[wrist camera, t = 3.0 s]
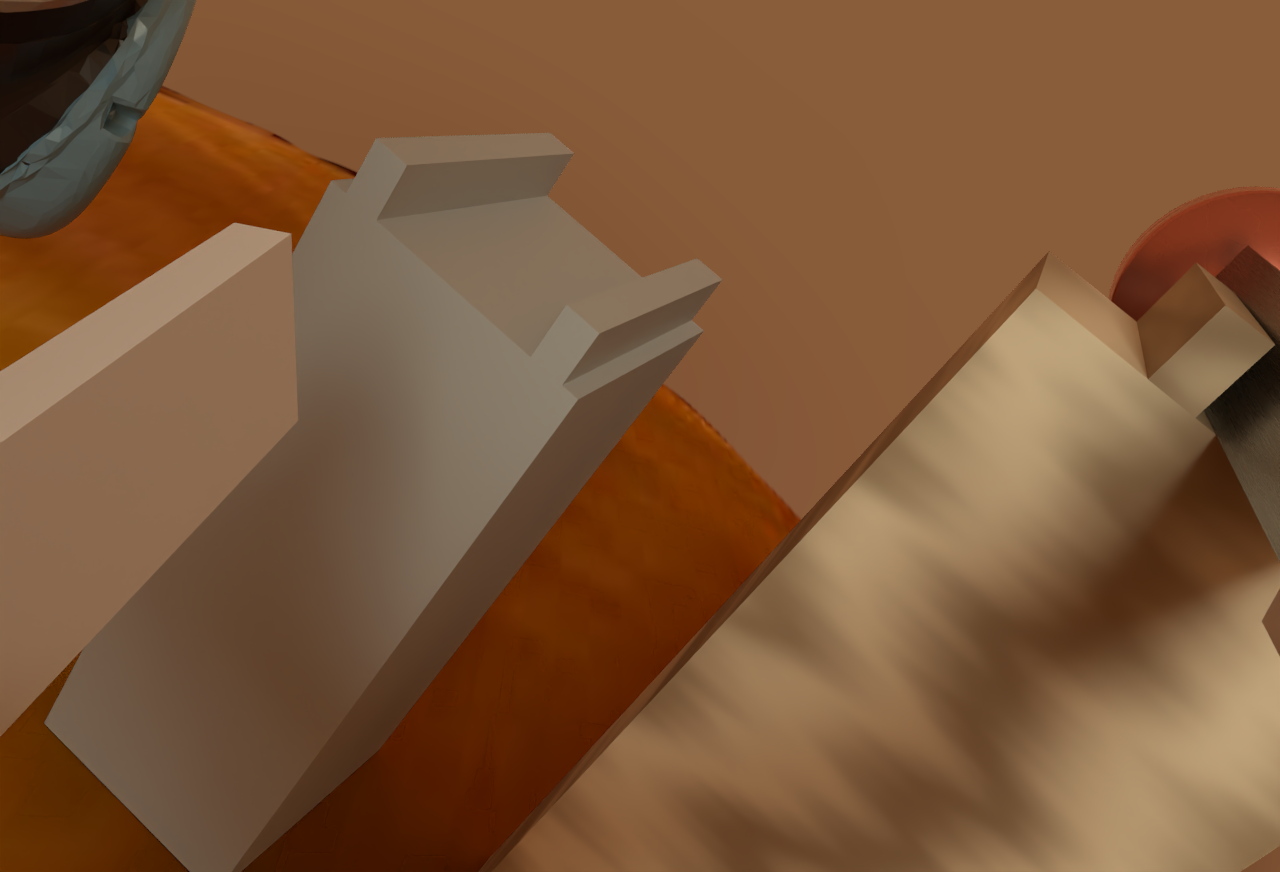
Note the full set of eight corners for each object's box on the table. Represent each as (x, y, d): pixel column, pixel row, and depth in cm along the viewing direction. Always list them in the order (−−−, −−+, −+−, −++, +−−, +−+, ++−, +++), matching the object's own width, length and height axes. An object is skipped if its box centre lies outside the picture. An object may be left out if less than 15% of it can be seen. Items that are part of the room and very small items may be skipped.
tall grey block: (44, 723, 36) (360, 124, 25) (237, 612, 44) (538, 122, 33) (213, 895, 35) (615, 347, 24) (379, 749, 43) (734, 290, 32)
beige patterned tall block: (384, 986, 36) (1108, 211, 22) (490, 857, 42) (1105, 190, 28) (656, 1259, 34) (1620, 620, 20) (724, 1083, 41) (1497, 501, 26)
